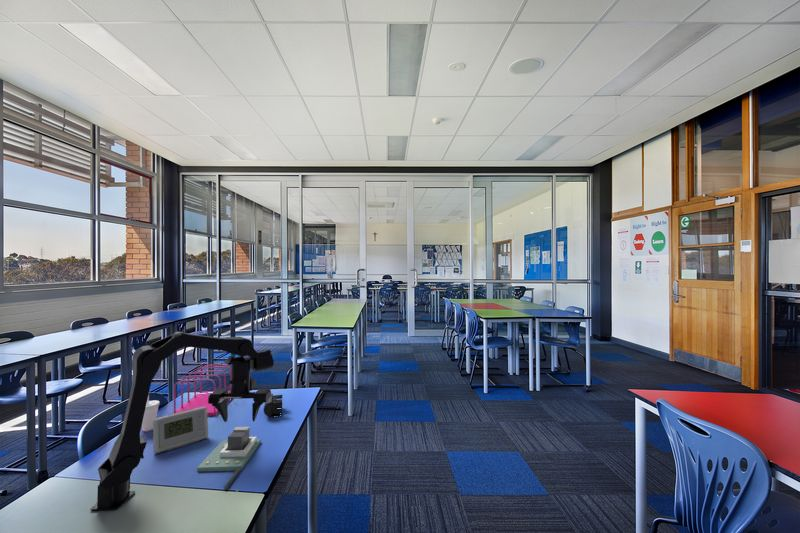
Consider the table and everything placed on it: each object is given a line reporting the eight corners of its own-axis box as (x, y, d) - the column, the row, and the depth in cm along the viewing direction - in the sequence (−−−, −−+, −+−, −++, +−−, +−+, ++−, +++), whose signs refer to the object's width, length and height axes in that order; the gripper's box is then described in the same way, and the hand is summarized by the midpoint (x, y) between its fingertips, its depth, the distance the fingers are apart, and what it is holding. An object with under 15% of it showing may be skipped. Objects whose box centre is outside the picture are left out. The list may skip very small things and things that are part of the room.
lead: (227, 490, 88) (227, 486, 88) (223, 490, 88) (223, 486, 88) (245, 464, 100) (245, 461, 100) (242, 464, 100) (242, 461, 100)
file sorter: (170, 418, 131) (171, 380, 131) (199, 395, 156) (200, 363, 156) (216, 416, 133) (216, 378, 134) (237, 393, 158) (237, 362, 159)
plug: (241, 453, 104) (242, 435, 104) (227, 454, 104) (227, 435, 104) (249, 443, 110) (249, 426, 110) (235, 444, 110) (236, 426, 110)
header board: (241, 470, 97) (241, 461, 97) (197, 471, 96) (197, 462, 96) (260, 442, 113) (260, 434, 113) (223, 443, 112) (223, 435, 112)
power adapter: (265, 409, 140) (265, 394, 141) (282, 407, 143) (282, 392, 143) (263, 419, 131) (263, 402, 131) (281, 417, 133) (281, 400, 133)
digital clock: (150, 456, 104) (151, 423, 104) (154, 443, 112) (155, 413, 112) (208, 442, 113) (209, 412, 113) (208, 431, 120) (208, 403, 121)
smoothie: (133, 431, 120) (134, 394, 120) (150, 423, 126) (151, 388, 126) (146, 434, 118) (147, 396, 119) (163, 425, 125) (164, 390, 125)
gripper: (276, 367, 116) (276, 410, 116) (223, 368, 115) (223, 411, 115) (265, 377, 105) (265, 425, 105) (207, 378, 104) (206, 426, 103)
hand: (240, 421), depth 107 cm, fingers open, 9 cm apart
